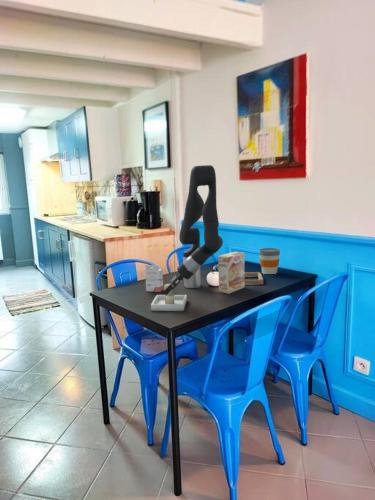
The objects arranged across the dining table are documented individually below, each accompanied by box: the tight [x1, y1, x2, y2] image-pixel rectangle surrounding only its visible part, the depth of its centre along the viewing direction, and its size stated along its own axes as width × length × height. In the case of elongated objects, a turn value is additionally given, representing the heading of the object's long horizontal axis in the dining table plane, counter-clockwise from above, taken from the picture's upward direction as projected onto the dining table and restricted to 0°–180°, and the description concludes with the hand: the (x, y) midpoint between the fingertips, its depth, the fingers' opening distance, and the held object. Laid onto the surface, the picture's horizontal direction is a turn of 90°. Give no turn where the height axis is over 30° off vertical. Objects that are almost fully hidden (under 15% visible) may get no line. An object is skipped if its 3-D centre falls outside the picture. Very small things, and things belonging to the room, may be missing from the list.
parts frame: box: [245, 271, 264, 286], centre depth 219 cm, size 19×19×2 cm
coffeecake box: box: [217, 251, 246, 295], centre depth 200 cm, size 15×7×20 cm, turn 137°
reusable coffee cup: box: [258, 247, 281, 275], centre depth 233 cm, size 13×13×15 cm
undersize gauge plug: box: [163, 283, 175, 304], centre depth 178 cm, size 4×4×9 cm
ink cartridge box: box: [144, 264, 164, 293], centre depth 204 cm, size 9×5×15 cm, turn 70°
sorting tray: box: [150, 294, 188, 312], centre depth 178 cm, size 15×15×3 cm
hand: (165, 291), depth 177 cm, fingers open, 6 cm apart
